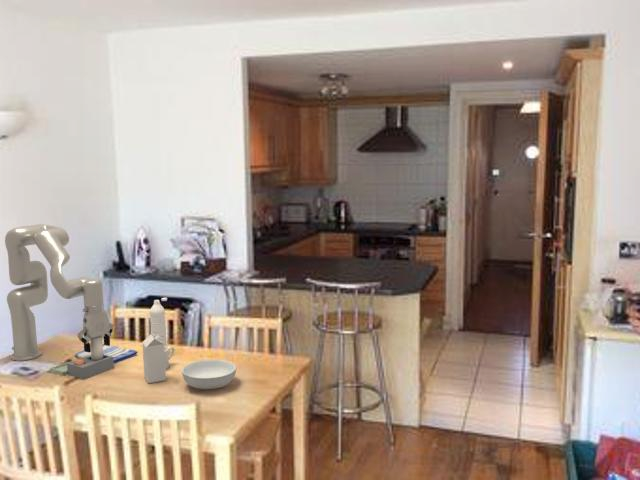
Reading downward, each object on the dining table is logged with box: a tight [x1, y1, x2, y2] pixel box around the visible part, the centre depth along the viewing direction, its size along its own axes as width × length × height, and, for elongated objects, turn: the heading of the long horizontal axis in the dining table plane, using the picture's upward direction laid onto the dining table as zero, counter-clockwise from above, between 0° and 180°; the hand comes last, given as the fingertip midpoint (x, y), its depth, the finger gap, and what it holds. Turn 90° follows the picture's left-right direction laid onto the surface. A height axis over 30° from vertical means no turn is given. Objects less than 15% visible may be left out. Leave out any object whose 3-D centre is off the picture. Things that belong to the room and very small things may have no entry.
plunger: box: [75, 358, 84, 366], centre depth 246 cm, size 3×3×4 cm
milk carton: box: [142, 331, 167, 384], centre depth 240 cm, size 7×7×19 cm
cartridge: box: [89, 335, 104, 361], centre depth 252 cm, size 5×5×13 cm
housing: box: [66, 354, 115, 380], centre depth 250 cm, size 10×15×5 cm, turn 148°
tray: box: [49, 361, 71, 377], centre depth 252 cm, size 9×9×2 cm
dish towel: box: [74, 343, 138, 365], centre depth 270 cm, size 17×24×3 cm
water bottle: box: [149, 297, 168, 347], centre depth 271 cm, size 9×6×25 cm
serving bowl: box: [181, 359, 237, 390], centre depth 234 cm, size 21×21×7 cm
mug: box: [164, 345, 175, 371], centre depth 254 cm, size 13×10×8 cm
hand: (97, 348), depth 252 cm, fingers open, 9 cm apart
